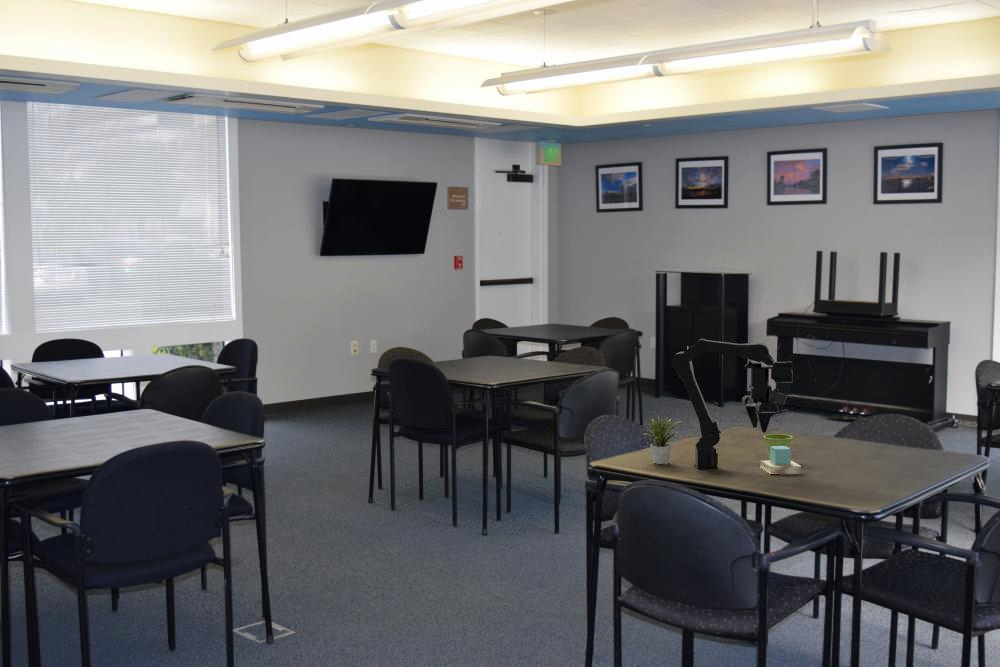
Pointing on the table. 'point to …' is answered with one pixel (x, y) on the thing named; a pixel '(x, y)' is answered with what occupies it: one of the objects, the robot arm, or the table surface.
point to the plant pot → (777, 441)
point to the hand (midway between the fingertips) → (759, 430)
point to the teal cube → (780, 455)
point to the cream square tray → (780, 468)
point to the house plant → (661, 440)
